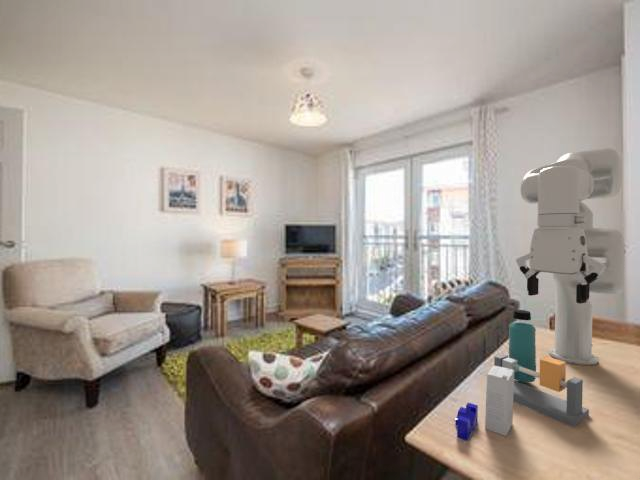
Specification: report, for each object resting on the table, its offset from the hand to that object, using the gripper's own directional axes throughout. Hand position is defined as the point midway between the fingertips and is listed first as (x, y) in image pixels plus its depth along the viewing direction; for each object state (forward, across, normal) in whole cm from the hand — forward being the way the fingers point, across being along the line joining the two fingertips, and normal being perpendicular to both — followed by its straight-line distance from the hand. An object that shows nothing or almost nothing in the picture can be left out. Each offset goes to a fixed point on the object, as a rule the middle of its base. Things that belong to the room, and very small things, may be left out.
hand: (556, 298), depth 73 cm
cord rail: (+27, +5, -2) cm, 27 cm away
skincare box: (+27, +4, +15) cm, 31 cm away
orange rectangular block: (+21, +1, -2) cm, 21 cm away
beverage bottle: (+27, +12, -10) cm, 31 cm away
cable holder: (+27, +7, +22) cm, 36 cm away
